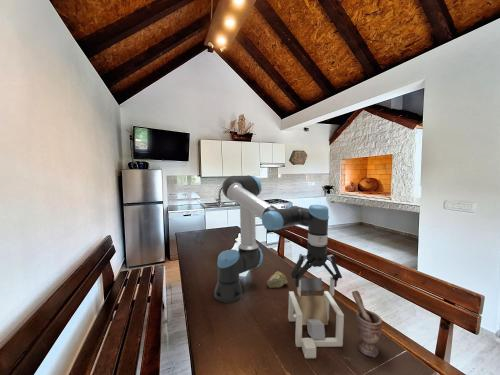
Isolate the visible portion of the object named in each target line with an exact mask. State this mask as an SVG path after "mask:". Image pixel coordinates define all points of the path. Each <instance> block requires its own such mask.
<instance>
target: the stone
mask: <svg viewBox="0 0 500 375" xmlns="http://www.w3.org/2000/svg"><path fill="white" fill-rule="evenodd" d="M306 328H307V329H306V330H307V333H308V335H309V337H310V338H312V339H325V338H326V330H325V325H324V324H323V323H322V322H321V321H320V320H319V319H307V325H306Z"/></svg>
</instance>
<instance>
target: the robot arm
mask: <svg viewBox="0 0 500 375" xmlns="http://www.w3.org/2000/svg"><path fill="white" fill-rule="evenodd" d="M221 190H222V194H223V195H224V196H225V197H226V198H227V199H228V200H230V201H233V202H235V203H238V204H239V218H240V219H239V220H240V222H239V224H240V226H239V227H240V243H239V245H238V247H237V248H238V249H226V250H223V251H222V252H220V253H219V254H218V256H217V262H216V264H217V283H216V285H215V288H214V298H215V300H216V301H218V302H220V303H225V304H226V303H227V304H228V303H229V304H230V303H234V302H237V301H238V300H240V299H241V298H242V297H243V288H242V285H241V282H240V274H243V273H245V272H248V271H251V270H255V269H257V268H258V267H260V266H261V265H262V263H263V261H264V260H263V259H264V254H263V252H262V249H261V248H260V247H259V245H258V243H257V242H256V240H257V237H256V217H257V218H259V219H260V220H261V222H262V225H263V226H264V229H265V230H267V231H278V230H282V229H286V228H289V227H293V226H298V225H299V226H303V227H305V228H307V250H306V251H307V252H306V255H305V254H304V255H303V254H302V253H299V257H298V260H297V261H296V264H295V266H293V269H292V270H291V272H290V276H291V278H292V279H294V284H295V287H296V291H297V292H296V293H297V296H302V295H301V294H302V291H301V279H300V278H303V276H304V274H305V273H307V271H308V270H310V269H311V268H312V267H313V268H317V267H318V268H321V267H323V268H325V270H326V271H327V272H328V273H329V275H330V277H329V293H330V295H331V296H332V297H334V296H335V288H337V284H338V283H337V282H338V281H339V279H342V278H343V276H342V274H341V272H340V269H339V267H338V265H337V262H336V258H335V255H334V254H332V253H329V255H328V254H327V253H328V245H327V244H328V235H329V234H328V233H329V232H328V230H329V219H330V216H329V208H328V206H326V205H325V204H324V205H322V204H311V205H309V207H307V208H306V207H302V206H297V205H288V206H287V207H285V208H283V209H279V208H277V207H276V206H274V205H272V204H270V203H269V202H267V201H265V200H264V199H262V198H261V197H260V196H259V195H260V194H261V192H262V183H261V180H260V179H259V178H258V177H257V176H255V175H231V176H228V177H226V179H224V181H223V183H222V185H221ZM327 260H329V262H330V263H331V266H332V269H333V271H334V272H335V273H334V272H333V271H332V269H331V268H330V266H328V265H327ZM305 261H306V262H305ZM304 262H305V264H304ZM302 265H303V266H302Z"/></svg>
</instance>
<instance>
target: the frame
mask: <svg viewBox="0 0 500 375" xmlns="http://www.w3.org/2000/svg"><path fill="white" fill-rule="evenodd" d="M295 296H296V294H295V292H294V290H293V291H290V290H289V291H288V307H287V308H288V310H287V311H288V314H287V318H288V322H295V334H294V335H295V338H294V339H295V341H294V342H295V347H296V348H302V340H306V339H312V338H311V337H303V325H302V313H301V310H300V307H299V305H298V302H297V300H296V297H295ZM323 296H325V303H326V311H327V319H328V322H329V319H330V306H331V307H332V309H333V311H334V312H335V314H336V318H335V321H336V322H335V337H325V339H313V341H314V343H315V346H316V348H317V347H320V348H321V347H323V348H324V347H325V348H327V347H330V348H331V347H334V348H335V347H344V346H343V344H344V323H345V322H344V321H345V320H344V319H345V314H344V313H343V311H342V310H341V308H340V306H338V304H337V302H336V301H335V298H334V297H333V296H332V295H331V293H330V291H328V290H325V291H324V290H323Z"/></svg>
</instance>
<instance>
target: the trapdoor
mask: <svg viewBox="0 0 500 375" xmlns="http://www.w3.org/2000/svg"><path fill="white" fill-rule="evenodd" d="M300 279H301V292H302V291H305V295H301V296H299V295H295V297H296V300H297V302H298V305H299V307H300V310H301V313H302V326H307V319H319V320H320V321H321V322H322V323H323V324H324V326H325V325H326V326H327V325H329V321H328V319H327V311H326V303H325V296H324V295H314V291H324V287H323V280H322V277H301V278H300Z"/></svg>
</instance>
